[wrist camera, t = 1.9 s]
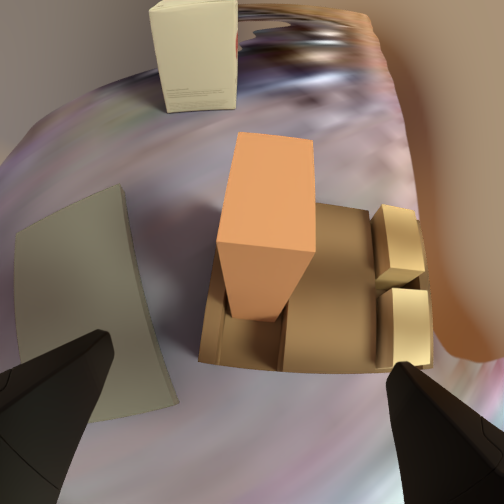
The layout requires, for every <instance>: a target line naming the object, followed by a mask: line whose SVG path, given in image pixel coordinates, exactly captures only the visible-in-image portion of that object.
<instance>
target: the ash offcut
mask: <svg viewBox="0 0 504 504" xmlns="http://www.w3.org/2000/svg"><path fill="white" fill-rule="evenodd" d="M399 361H408V362H410V363H411V364H413V365H414V366H419V365H426V364H430V320H429V304H428V292H427V290H413V289H399V288H391V289H390V290H388V291H387V292H385V293H384V294H382V295H381V296H379V297H378V298H376V361H375V369H391V368H393V367H394V365H395V364H396V363H397V362H399Z"/></svg>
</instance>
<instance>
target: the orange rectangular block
mask: <svg viewBox="0 0 504 504" xmlns="http://www.w3.org/2000/svg"><path fill="white" fill-rule="evenodd" d="M216 243H217V248H218V253H219V258H220V263H221V267H222V272H223V277H224V282H225V286H226V291H227V296H228V300H229V305H230V309H231V314H232V318H236V319H245V320H254V321H263V322H275V321H276V319H277V318H278V316H279V314H280V313H281V311H282V309H283V308H284V306H285V304H286V303H287V301H288V299H289V298H290V296H291V294H292V293H293V291H294V289H295V287H296V286H297V284H298V282H299V281H300V279H301V277H302V275H303V274H304V272H305V270H306V268H307V267H308V265H309V263H310V261H311V260H312V258H313V256H314V254H315V252H316V214H315V177H314V155H313V140H307V139H300V138H292V137H285V136H276V135H267V134H257V133H245V132H239V133H238V137H237V142H236V146H235V151H234V155H233V160H232V165H231V169H230V174H229V179H228V184H227V189H226V193H225V198H224V203H223V208H222V214H221V219H220V224H219V229H218V235H217V240H216Z"/></svg>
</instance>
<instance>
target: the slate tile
mask: <svg viewBox="0 0 504 504" xmlns="http://www.w3.org/2000/svg"><path fill="white" fill-rule="evenodd" d="M14 307H15V321H16V331H17V340H18V347H19V354H20V360H21V364H22V363H25V362H27V361H29V360H31V359H33V358H35V357H38V356H40V355H42V354H44V353H46V352H48V351H51V350H53V349H55V348H57V347H59V346H61V345H64V344H66V343H68V342H70V341H72V340H74V339H77V338H79V337H81V336H83V335H85V334H87V333H90V332H92V331H94V330H96V329H101V330H105V331H108V332H109V333H110V335H111V339H112V343H113V347H114V351H115V355H114V359H113V362H112V365H111V367H110V370H109V373H108V376H107V378H106V381H105V384H104V387H103V390H102V392H101V395H100V397H99V400H98V402H97V404H96V406H95V408H94V410H93V412H92V415H91V417H90V419H89V421H88V423H92V422H99V421H105V420H111V419H116V418H122V417H127V416H132V415H136V414H141V413H145V412H150V411H154V410H158V409H162V408H166V407H170V406H173V405H176V404H178V403H179V400H178V398H177V395H176V393H175V390H174V387H173V385H172V382H171V379H170V377H169V374H168V371H167V368H166V365H165V362H164V359H163V356H162V353H161V350H160V347H159V344H158V341H157V338H156V334H155V331H154V328H153V324H152V321H151V317H150V314H149V310H148V306H147V303H146V299H145V295H144V291H143V287H142V283H141V279H140V274H139V270H138V265H137V261H136V256H135V251H134V246H133V241H132V236H131V230H130V224H129V218H128V212H127V206H126V199H125V192H124V190H123V189H122V187H121V185H120V183H119V184H117V185H115V186H112V187H110V188H107V189H105V190H103V191H100V192H98V193H96V194H93V195H91V196H89V197H87V198H84V199H82V200H80V201H78V202H76V203H74V204H72V205H69V206H67V207H65V208H63V209H61V210H59V211H57V212H55V213H53V214H51V215H49V216H47V217H45V218H44V219H42V220H40V221H38V222H36V223H34V224H32V225H31V226H29V227H27V228H25V229H23V230H22V231H20V232H18V233H17V234H16V240H15V254H14Z"/></svg>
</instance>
